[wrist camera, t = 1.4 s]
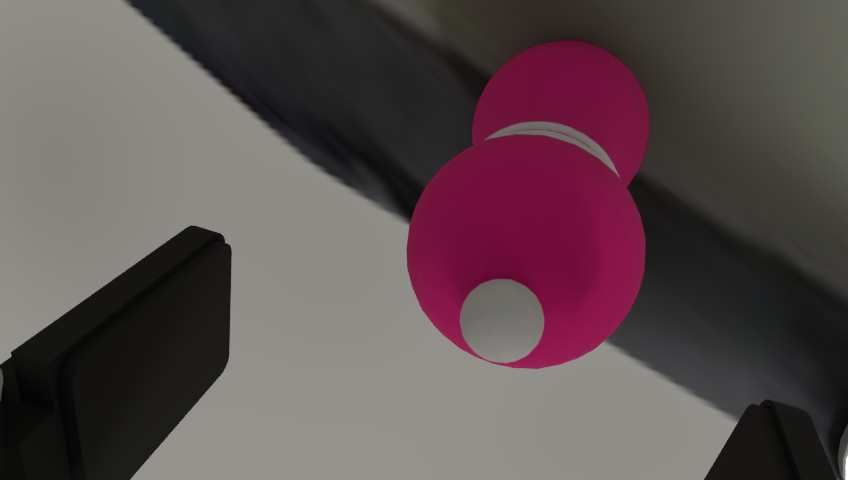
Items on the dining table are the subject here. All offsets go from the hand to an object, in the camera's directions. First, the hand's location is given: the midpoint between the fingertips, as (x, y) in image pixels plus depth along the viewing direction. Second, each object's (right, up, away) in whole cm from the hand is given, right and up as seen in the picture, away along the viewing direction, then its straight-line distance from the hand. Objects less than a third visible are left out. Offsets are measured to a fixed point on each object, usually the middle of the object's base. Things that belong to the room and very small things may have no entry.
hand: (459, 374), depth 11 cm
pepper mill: (+6, +9, +19) cm, 22 cm away
